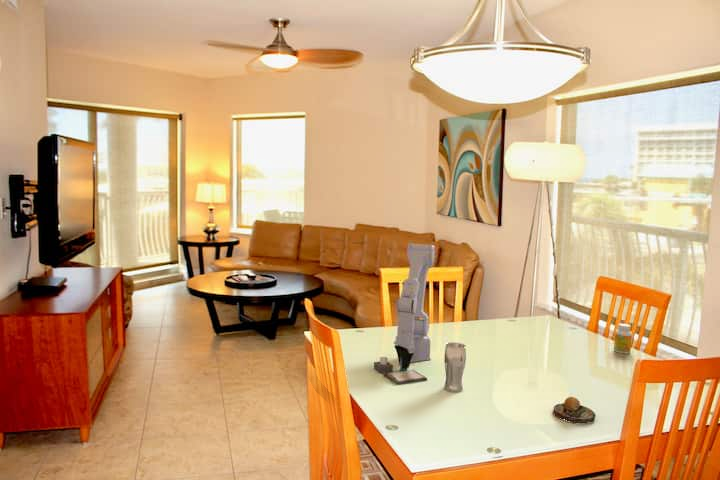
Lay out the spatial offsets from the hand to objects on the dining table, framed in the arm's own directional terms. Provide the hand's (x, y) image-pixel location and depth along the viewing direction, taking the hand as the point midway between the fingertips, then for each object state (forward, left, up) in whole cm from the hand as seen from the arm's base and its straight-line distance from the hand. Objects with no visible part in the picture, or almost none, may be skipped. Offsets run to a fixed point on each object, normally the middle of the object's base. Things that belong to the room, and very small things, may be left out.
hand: (403, 366), depth 210 cm
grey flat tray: (+4, +7, -1) cm, 8 cm away
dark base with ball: (-28, +53, -2) cm, 60 cm away
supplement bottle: (-98, +12, -2) cm, 99 cm away
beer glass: (-6, +22, -2) cm, 22 cm away
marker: (0, 0, -1) cm, 1 cm away
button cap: (+7, -2, 0) cm, 7 cm away
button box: (+7, -2, -1) cm, 8 cm away
